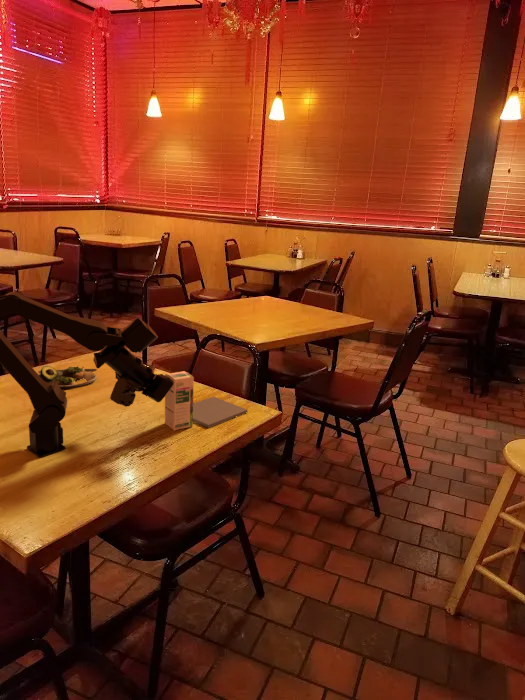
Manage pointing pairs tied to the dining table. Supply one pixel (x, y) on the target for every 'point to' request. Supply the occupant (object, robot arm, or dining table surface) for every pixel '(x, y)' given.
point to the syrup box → (179, 401)
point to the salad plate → (67, 376)
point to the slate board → (215, 411)
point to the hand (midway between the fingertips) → (163, 396)
